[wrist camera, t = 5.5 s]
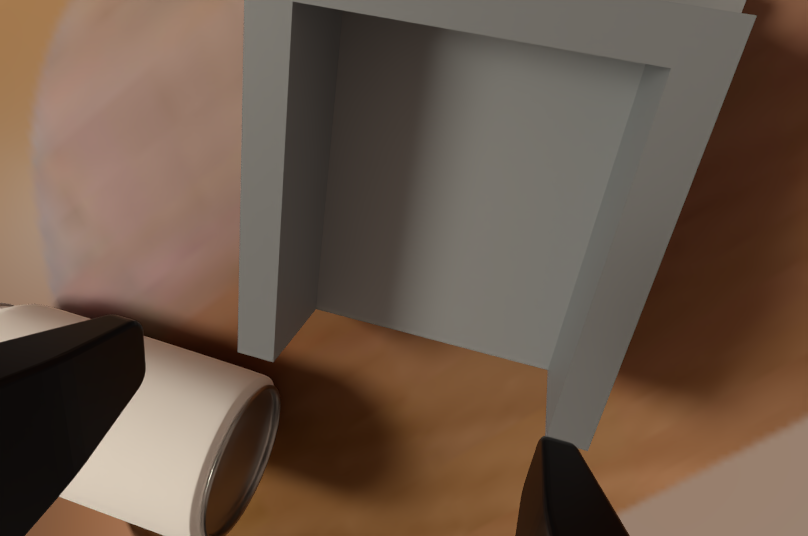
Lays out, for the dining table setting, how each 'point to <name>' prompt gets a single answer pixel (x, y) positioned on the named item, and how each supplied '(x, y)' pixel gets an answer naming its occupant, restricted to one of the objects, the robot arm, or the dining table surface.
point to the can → (173, 437)
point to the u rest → (475, 172)
